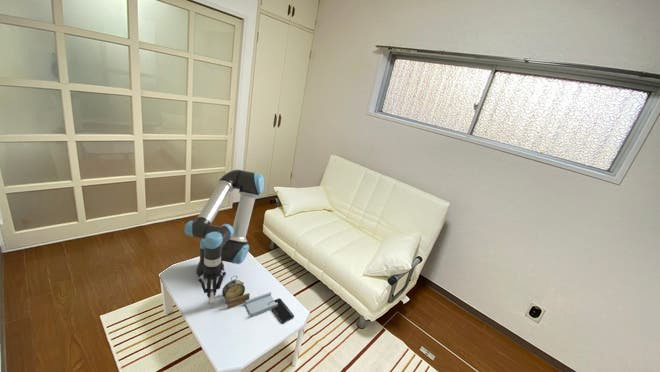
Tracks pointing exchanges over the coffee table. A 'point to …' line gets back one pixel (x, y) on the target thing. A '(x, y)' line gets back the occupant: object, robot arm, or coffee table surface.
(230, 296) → the alarm clock
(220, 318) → the coffee table surface
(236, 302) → the channel
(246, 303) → the cradle
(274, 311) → the phone
